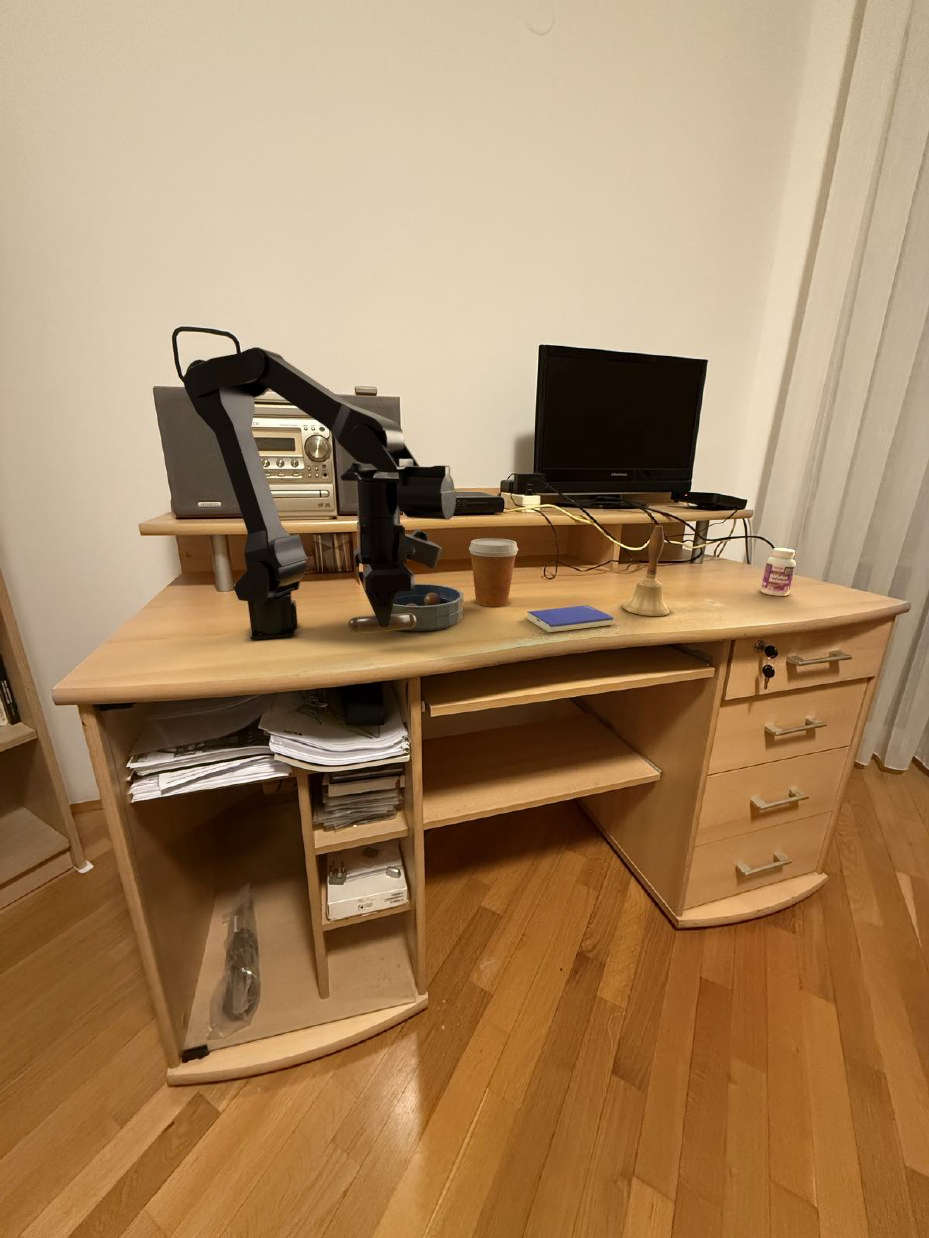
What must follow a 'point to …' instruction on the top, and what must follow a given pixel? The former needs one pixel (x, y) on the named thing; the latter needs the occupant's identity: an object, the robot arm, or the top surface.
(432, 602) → the glossy brown ball
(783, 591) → the pill bottle
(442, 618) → the bowl
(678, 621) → the top surface
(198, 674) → the top surface
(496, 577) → the disposable coffee cup
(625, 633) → the top surface
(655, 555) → the hand bell
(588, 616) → the hard drive
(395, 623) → the stick
